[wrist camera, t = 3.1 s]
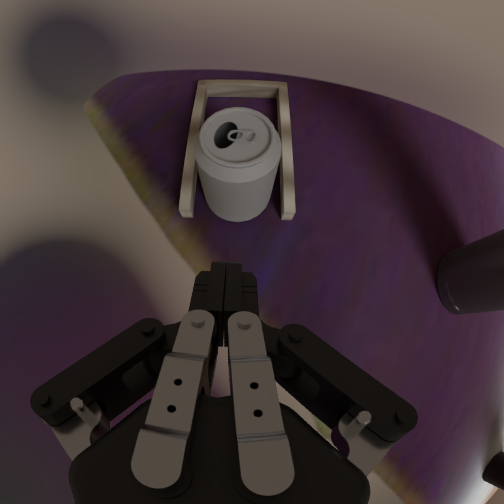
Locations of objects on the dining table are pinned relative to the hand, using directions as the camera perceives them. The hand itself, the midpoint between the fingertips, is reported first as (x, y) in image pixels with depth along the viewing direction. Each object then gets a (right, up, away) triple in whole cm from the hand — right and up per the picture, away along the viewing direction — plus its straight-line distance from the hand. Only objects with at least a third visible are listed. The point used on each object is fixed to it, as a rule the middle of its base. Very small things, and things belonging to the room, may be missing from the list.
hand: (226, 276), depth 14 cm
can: (0, +8, +18) cm, 20 cm away
